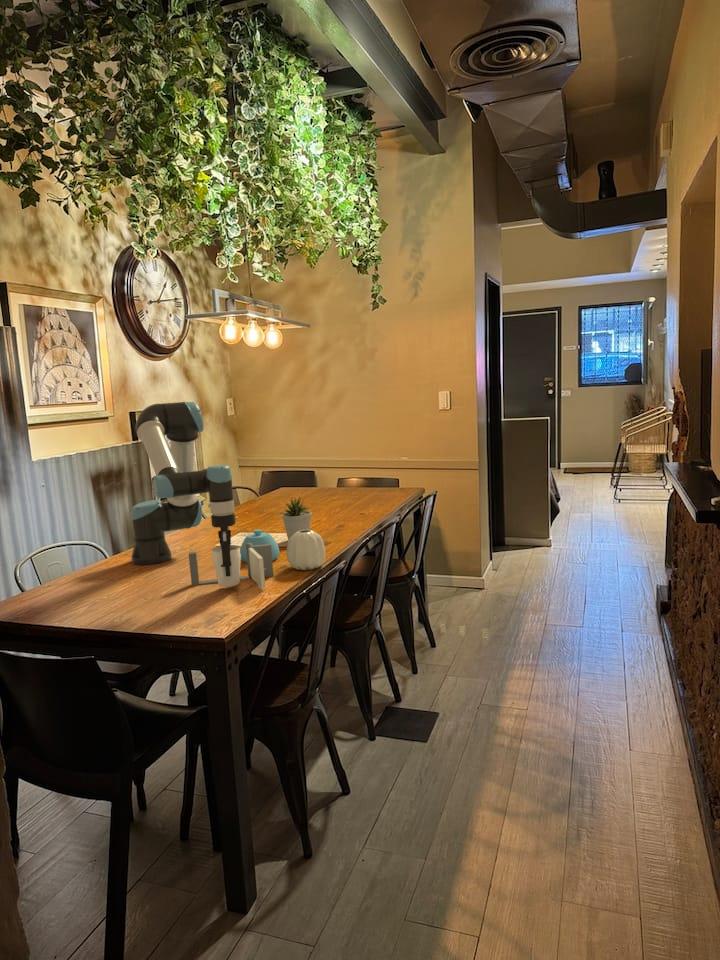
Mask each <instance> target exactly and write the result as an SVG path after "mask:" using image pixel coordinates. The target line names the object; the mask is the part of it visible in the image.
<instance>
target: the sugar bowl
mask: <svg viewBox="0 0 720 960" xmlns="http://www.w3.org/2000/svg"><path fill="white" fill-rule="evenodd" d="M262 531H263V530H262V529H254V530H253V533H250V534H247V535H246V536H245V538H244V540H243V541H242V544H241V547H240V554H241V561H243V562H244V563H245V564H247V553H246V544H247V543H252V548H253V546H255V545H264V544H271V551H272V562H273V561H275V560H276V559H278V557H279V555H280V548H279V545H278V542H277V541H276V539H274V537H273V536H272V535H271V534H270V533H269V532H262Z"/></svg>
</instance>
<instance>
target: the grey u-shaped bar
mask: <svg viewBox="0 0 720 960" xmlns="http://www.w3.org/2000/svg"><path fill="white" fill-rule="evenodd" d="M248 548H252V543H247V544H246V553H247V563H246V565H247V575H240V580H239V581H247V580H248V579H251V580H252V579H253V578H252V577H251V572H250V560H249V549H248ZM253 549H254V550H255V551H256V552H257V553H258V554H259V555H260V556H261V557H262V558H263V565H264V568H266V573H264V577H265V578H267V577H269V578H270V577H275V576H274V567H273V566H274V565H273V563H274V562H273V561H272V551H271V544H264V545H255V546H253ZM188 561H189V562H188V563H189V573H190V579H191V580H190V581H191V586H192V585H193V586H199V585H200V586H204V585H212V584H218V580H217V578H214V579H206V580H200V578H199V576H200V575H199V565H198V556H197V551H191V552H190V551H189V552H188ZM253 580H254V579H253ZM203 584H204V585H203Z"/></svg>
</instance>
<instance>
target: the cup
mask: <svg viewBox="0 0 720 960" xmlns="http://www.w3.org/2000/svg"><path fill="white" fill-rule="evenodd" d="M240 549H241V547H240V546H239V545H235V544H231V545H230V558H231V564H232V575H233V585H232V586H225V583H224V572H223V567H221V565H223V558H222V547H221V546H220V545H219V546H217V547H213V548H212V549H211V550H212V551H211V554H212V556H211V557H212V564H213V568H214V571H215V574H216V579H217V580H218V583H217V584H218V586H220V587H222V588H229V587H234V586H237V585H239V584H240V581H241V580H240V576H241V561H242V559H241V554H240Z"/></svg>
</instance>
